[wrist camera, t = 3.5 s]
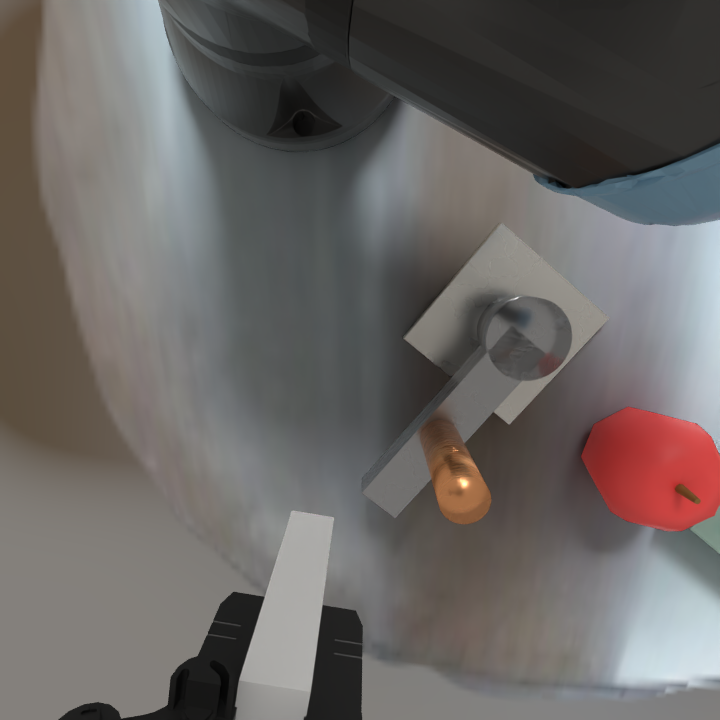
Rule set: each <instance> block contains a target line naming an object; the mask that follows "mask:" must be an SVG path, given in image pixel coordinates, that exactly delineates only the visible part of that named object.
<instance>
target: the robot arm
mask: <svg viewBox="0 0 720 720" xmlns="http://www.w3.org/2000/svg"><path fill="white" fill-rule="evenodd" d="M158 2H159V6H160V9H161V13H162V17H163V22H164V27H165V31H166V35H167V38H168V41H169V45H170V47H171V50H172V53H173V55H174V57H175V60H176V62H177V64H178V66H179V68H180V69H181V71H182V73H183V75H184V77H185V78H186V80H187V82H188V83H189V85H190V86H191V88H192V89H193V90H194V92H195V93H196V94H197V96H198V97H199V98H200V99H201V100H202V102H203V103H204V104H205V105H206V106H207V107H208V108H209V109H210V110H211V111H212V112H213V113H214V114H215V115H216V116H217V117H218V118H219V119H221V120H222V121H223V122H224V123H225V124H226V125H227V126H229V127H230V128H231V129H233V130H234V131H235V132H237V133H238V134H240V135H242V136H243V137H245V138H247V139H249V140H251V141H253V142H255V143H258V144H260V145H263V146H266V147H269V148H273V149H278V150H283V151H293V152H304V151H315V150H320V149H325V148H328V147H332V146H334V145H337V144H340V143H342V142H344V141H346V140H348V139H350V138H352V137H354V136H355V135H357V134H358V133H360V132H361V131H363V130H364V129H365V128H367V127H368V126H369V125H370V124H372V123H373V122H374V121H375V120H376V119H377V118H378V117H379V116H380V115H381V114H382V113H383V111H384V110H385V109H386V108H387V107H388V105H389V104H390V103H391V101H392V100H393V98H394V97H397V98H399V99H400V100H402V101H404V102H406V103H408V104H409V105H411V106H413V107H415V108H417V109H418V110H420V111H422V112H424V113H426V114H427V115H429V116H431V117H433V118H434V119H436V120H438V121H440V122H442V123H443V124H445V125H447V126H449V127H451V128H452V129H454V130H456V131H458V132H460V133H461V134H463V135H465V136H467V137H468V138H470V139H472V140H474V141H476V142H477V143H479V144H481V145H483V146H485V147H486V148H488V149H490V150H492V151H494V152H495V153H497V154H499V155H501V156H503V157H504V158H506V159H508V160H510V161H511V162H513V163H515V164H517V165H519V166H520V167H522V168H524V169H526V170H528V171H529V172H531V173H533V175H534V178H535V180H536V181H537V182H538V183H539V184H541V185H543V186H544V187H546V188H547V189H550V190H552V191H554V192H557V193H561V194H567V195H573V196H578V197H580V198H582V199H584V200H586V201H588V202H590V203H592V204H594V205H596V206H598V207H600V208H602V209H604V210H606V211H608V212H610V213H612V214H614V215H616V216H618V217H621V218H623V219H625V220H628V221H631V222H635V223H639V224H644V225H653V224H660V225H670V226H679V225H696V224H701V223H706V222H711V221H715V220H720V0H158ZM333 522H334V517H329V516H323V515H317V514H311V513H305V512H299V511H293V510H292V511H291V515H290V518H289V521H288V524H287V527H286V531H285V534H284V537H283V540H282V544H281V547H280V550H279V553H278V556H277V560H276V563H275V566H274V569H273V572H272V576H271V579H270V582H269V585H268V589H267V592H266V595H265V597H262V596H256V595H250V594H243V593H238V592H233V593H232V594H231V595H230V596H228V597H227V598H226V599H225V600H224V601H223V602H222V603H221V604H220V606H219V609H218V611H217V613H216V615H215V618H214V621H213V623H212V625H211V627H210V629H209V631H208V635H207V636H206V638H205V641H204V643H203V645H202V648H201V650H200V652H199V654H198V656H197V657H194V658H191V659H188V660H187V661H186V662H184V663H183V664H181V665H180V666H179V667H178V668H177V669H176V671H175V672H174V673H173V675H172V676H171V680H170V690H169V699H168V705H167V706H165V707H164V708H162V709H160V710H158V711H156V712H153V713H149V714H146V715H141V716H135V717H129V718H123V719H121V717H120V714H119V712H118V711H117V710H116V709H115V708H113V707H112V706H111V705H109V704H104V703H99V702H97V703H90V704H84V705H82V706H79V707H77V708H75V709H73V710H71V711H69V712H68V713H66V714H65V715H64V716H62V717H61V718H60V719H59V720H362V713H361V700H362V697H361V696H362V694H361V693H362V633H363V626H362V624H361V621H360V619H359V617H358V615H357V613H356V611H354V610H348V609H342V608H336V607H330V606H324V605H322V604H323V597H324V589H325V582H326V575H327V567H328V560H329V552H330V545H331V537H332V530H333Z"/></svg>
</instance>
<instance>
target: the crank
mask: <svg viewBox="0 0 720 720" xmlns="http://www.w3.org/2000/svg"><path fill="white" fill-rule="evenodd" d="M571 343H572V329H571V324H570V322H569V319H568V317H567V316H566V314H565V313H564V311H563V310H562V309H561V308H560V307H559V306H557V305H556V304H555V303H553V302H551V301H549V300H546V299H542V298H538V297H533V296H528V295H515V296H510V297H507V298H504V299H502V300H500V301H499V302H497V303H496V304H495V305H493V306H492V307H491V308H490V309H489V310H488V312H487V313H486V314H485V316H484V318H483V320H482V322H481V325H480V328H479V344H480V346H479V347H478V348H477V349H476V351H475V352H474V353H473V354H472V355H471V356H470V357H469V358H468V360H467V361H466V362H465V363H464V364H463V365H462V366H461V367H460V369H459V370H458V371H457V372H456V373H455V374H454V375H453V376H452V378H451V379H450V380H449V381H448V382H447V383H446V384H445V386H444V387H443V388H442V389H441V390H440V391H439V392H438V393H437V395H436V396H435V397H434V398H433V399H432V400H431V401H430V402H429V404H428V405H427V406H426V407H425V408H424V409H423V410H422V411H421V413H420V414H419V415H418V416H417V417H416V418H415V419H414V420H413V422H412V423H411V424H410V425H409V426H408V427H407V428H406V429H405V431H404V432H403V433H402V434H401V435H400V436H399V437H398V438H397V440H396V441H395V442H394V443H393V444H392V445H391V446H390V448H389V449H388V450H387V451H386V452H385V453H384V454H383V455H382V457H381V458H380V459H379V460H378V461H377V462H376V463H375V464H374V466H373V467H372V468H371V469H370V470H369V471H368V472H367V473H366V475H365V476H364V477H363V478H362V494H363V495H365V496H366V497H367V498H369V499H370V500H371V501H373V502H374V503H375V504H377V505H378V506H379V507H381V508H382V509H383V510H385V511H386V512H387V513H389V514H390V515H391V516H393V517H394V518H396V517H397V516H398V515H399V513H400V512H401V511H402V510H403V509H404V508H405V507H406V506H407V505H408V504H409V503H410V502H411V500H412V499H413V498H414V497H415V496H416V495H417V494H418V493H419V492H420V491H421V490H422V489H423V488H424V486H425V485H426V484H427V483H428V482H429V481H430V480H431V479H432V483H433V486H434V490H435V493H436V497H437V500H438V504H439V507H440V510H441V512H442V514H443V515H444V516H445V517H446V518H447V519H449V520H450V521H452V522H454V523H458V524H470V523H474V522H476V521H478V520H480V519H481V518H482V517H483V516H485V514H486V513H487V512H488V510H489V508H490V505H491V494H490V491H489V489H488V487H487V485H486V483H485V481H484V480H483V478H482V476H481V474H480V472H479V470H478V468H477V466H476V464H475V462H474V461H473V459H472V457H471V455H470V453H469V451H468V449H467V447H466V445H465V442H466V441H467V440H468V439H469V438H470V437H471V436H472V435H473V433H474V432H475V431H476V430H477V429H478V428H479V427H480V426H481V425H482V424H483V423H484V422H485V421H486V419H487V418H488V417H489V416H490V415H491V414H492V413H493V412H494V411H495V410H496V409H497V408H498V406H499V405H500V404H501V403H502V402H503V401H504V400H505V399H506V398H507V397H508V396H509V395H510V394H511V392H512V391H513V390H514V389H515V388H516V387H517V386H518V385H519V384H520V383H521V382H522V381H531V380H537V379H540V378H543V377H545V376H547V375H549V374H551V373H552V372H554V371H555V370H556V369H557V368H558V367H559V366H560V365H561V364H562V363H563V362H564V360H565V359H566V357H567V355H568V353H569V351H570V348H571Z"/></svg>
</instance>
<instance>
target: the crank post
mask: <svg viewBox="0 0 720 720" xmlns="http://www.w3.org/2000/svg"><path fill="white" fill-rule="evenodd" d="M515 295H528V296H533V297H538V298H542V299H546V300H549V301H551V302H553V303H555V304H556V305H557V306H559V307H560V308H561V309H562V310H563V311H564V313H565V314H566V316H567V317H568V319H569V322H570V324H571V329H572V343H571V348H570V351H569V353H568V355H567V357H566V359H565V360H564V362H563V363H562V364H561V365H560V366H559V367H558V368H557V369H556V370H555V371H554V372H552V373H551V374H549V375H547V376H545V377H543V378H540V379H537V380H531V381H522V382H521V383H520V384H519V385H518V386H517V387H516V388H515V389H514V390H513V391H512V392H511V394H510V395H509V396H508V397H507V398H506V399H505V400H504V401H503V402H502V403H501V404H500V405H499V406H498V408H497V409H496V410H495V411H494V413H495V414H497V415H498V416H499V417H500V418H502V419H503V420H504V421H505V422H507V423H508V424H510V423H511V422H512V421H513V420H514V419H515V418H516V417H517V416H518V415H519V414H520V413H521V412H522V411H523V410H524V409H525V407H526V406H527V405H528V404H529V403H530V402H531V401H532V400H533V399H534V398H535V397H536V396H537V395H538V394H539V393H540V392H541V390H542V389H543V388H544V387H545V386H546V385H547V384H548V383H549V382H550V381H551V380H552V379H553V378H554V377H555V376H556V375H557V373H558V372H559V371H560V370H561V369H562V368H563V367H564V366H565V365H566V364H567V363H568V362H569V361H570V360H571V359H572V358H573V356H574V355H575V354H576V353H577V352H578V351H579V350H580V349H581V348H582V347H583V346H584V345H585V344H586V343H587V342H588V341H589V339H590V338H591V337H592V336H593V335H594V334H595V333H596V332H597V331H598V330H599V329H600V328H601V327H602V326H603V325H604V324H605V322H606V321H607V320H608V319H609V317H608V316H607V315H605V314H604V313H603V312H602V311H601V310H600V309H599V308H598V307H596V306H595V305H594V304H593V303H592V302H591V301H590V300H588V299H587V298H586V297H585V296H584V295H583V294H582V293H581V292H579V291H578V290H577V289H576V288H575V287H574V286H573V285H572V284H570V283H569V282H568V281H567V280H566V279H565V278H564V277H562V276H561V275H560V274H559V273H558V272H557V271H556V270H555V269H553V268H552V267H551V266H550V265H549V264H548V263H547V262H546V261H544V260H543V259H542V258H541V257H540V256H539V255H538V254H536V253H535V252H534V251H533V250H532V249H531V248H530V247H529V246H527V245H526V244H525V243H524V242H523V241H522V240H521V239H520V238H518V237H517V236H516V235H515V234H514V233H513V232H512V231H510V230H509V229H508V228H507V227H506V226H505V225H504V224H503V223H499V224H498V225H497V226H496V227H495V228H494V230H493V231H492V232H491V233H490V234H489V235H488V237H487V238H486V239H485V240H484V241H483V243H482V244H481V245H480V246H479V247H478V248H477V250H476V251H475V252H474V253H473V254H472V256H471V257H470V258H469V259H468V260H467V262H466V263H465V264H464V265H463V266H462V267H461V269H460V270H459V271H458V272H457V273H456V275H455V276H454V277H453V278H452V279H451V280H450V282H449V283H448V284H447V285H446V286H445V288H444V289H443V290H442V291H441V292H440V294H439V295H438V296H437V297H436V298H435V299H434V301H433V302H432V303H431V304H430V305H429V307H428V308H427V309H426V310H425V311H424V312H423V314H422V315H421V316H420V317H419V318H418V320H417V321H416V322H415V323H414V324H413V326H412V327H411V328H410V329H409V330H408V331H407V333H406V334H405V335H404V336H403V338H404V339H405V340H406V341H407V342H408V343H410V344H411V345H412V346H413V347H415V348H416V349H417V350H418V351H419V352H421V353H422V354H423V355H424V356H426V357H427V358H428V359H429V360H430V361H432V362H433V363H434V364H435V365H437V366H438V367H439V368H440V369H442V370H443V371H444V372H445V373H446V374H448V375H449V376H450V377H451V378H452V376H453V375H454V374H455V373H456V372H457V371H458V370H459V369H460V367H461V366H462V365H463V364H464V363H465V362H466V361H467V360H468V358H469V357H470V356H471V355H472V354H473V353H474V352H475V351H476V349H477V348H478V347H479V346H480V344H479V328H480V325H481V322H482V320H483V318H484V316H485V314H486V313H487V312H488V310H489V309H490V308H491V307H492V306H493V305H495V304H496V303H497V302H499V301H500V300H502V299H504V298H507V297H510V296H515Z"/></svg>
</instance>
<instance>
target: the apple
mask: <svg viewBox="0 0 720 720" xmlns="http://www.w3.org/2000/svg"><path fill="white" fill-rule="evenodd" d="M581 458H582V460H583V462H584V464H585V466H586V467H587V469H588V471H589V473H590V475H591V477H592V479H593V481H594V483H595V485H596V486H597V488H598V490H599V492H600V494H601V495H602V497H603V499H604V501H605V502H606V504H607V506H608V508H609V509H610V511H611V512H612V513H614V514H615V515H617V516H619V517H620V518H622V519H624V520H625V521H628V522H632V523H636V524H640V525H644V526H648V527H652V528H656V529H660V530H664V531H683V530H685V529H687V528H689V527H691V526H693V525H695V524H698V523H700V522H702V521H704V520H706V519H708V518H710V517H713V516H715V514H716V512H717V510H718V507H719V505H720V455H719V453H718V451H717V448H716V446H715V444H714V442H713V440H712V437H711V436H710V435H709V434H708V433H707V432H706V431H704V430H703V429H702V428H701V427H700V426H699V425H698V424H696V423H692V422H688V421H684V420H680V419H676V418H672V417H669V416H665V415H661V414H657V413H653V412H649V411H644V410H640V409H636V408H631V407H626V408H624V409H622V410H620V411H618V412H616V413H615V414H613V415H611V416H609V417H607V418H605V419H603V420H601V421H599V422H597V423H595V424H594V425H593V427H592V430H591V432H590V435H589V438H588V440H587V443H586V445H585V448H584V450H583V453H582V455H581Z"/></svg>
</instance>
